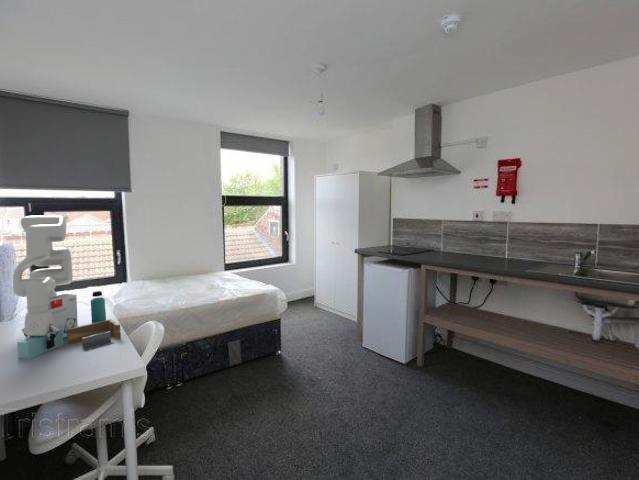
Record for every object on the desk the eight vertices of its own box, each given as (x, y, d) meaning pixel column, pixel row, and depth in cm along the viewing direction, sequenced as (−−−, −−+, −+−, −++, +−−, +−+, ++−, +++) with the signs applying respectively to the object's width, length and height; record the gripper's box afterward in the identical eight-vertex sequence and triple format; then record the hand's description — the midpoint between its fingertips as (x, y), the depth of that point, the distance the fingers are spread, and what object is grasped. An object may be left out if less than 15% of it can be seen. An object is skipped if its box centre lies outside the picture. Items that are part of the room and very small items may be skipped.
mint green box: (18, 357, 136) (17, 341, 136) (53, 343, 151) (52, 329, 151) (29, 359, 136) (28, 342, 135) (63, 344, 150) (62, 330, 150)
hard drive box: (48, 344, 150) (45, 302, 148) (34, 342, 152) (31, 301, 150) (79, 332, 165) (76, 294, 163) (66, 331, 167) (64, 293, 165)
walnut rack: (67, 343, 151) (67, 329, 150) (111, 332, 165) (110, 319, 164) (75, 350, 143) (75, 335, 143) (120, 338, 157) (120, 324, 156)
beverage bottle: (109, 327, 172) (107, 290, 171) (97, 331, 166) (95, 293, 164) (100, 325, 174) (99, 289, 173) (88, 330, 168) (86, 292, 166)
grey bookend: (82, 347, 147) (82, 337, 146) (109, 340, 155) (109, 331, 155) (86, 350, 143) (85, 341, 143) (114, 343, 152) (113, 333, 151)
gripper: (11, 311, 139) (14, 350, 140) (49, 312, 137) (52, 351, 139) (28, 306, 146) (31, 343, 148) (64, 307, 145) (67, 344, 146)
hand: (41, 347), depth 143 cm, fingers open, 8 cm apart
